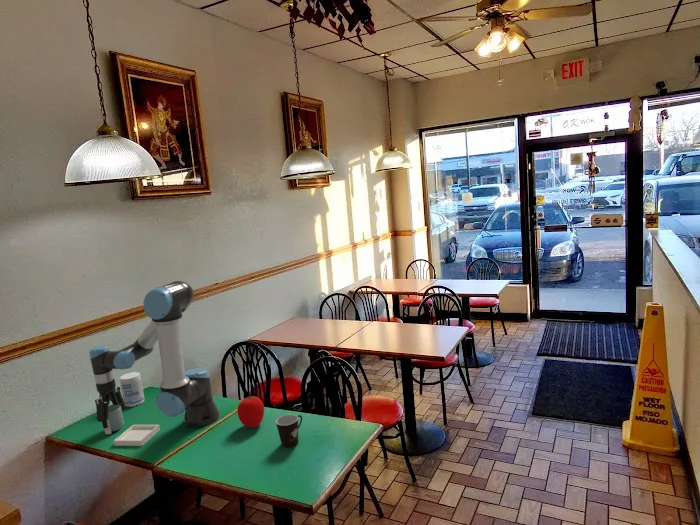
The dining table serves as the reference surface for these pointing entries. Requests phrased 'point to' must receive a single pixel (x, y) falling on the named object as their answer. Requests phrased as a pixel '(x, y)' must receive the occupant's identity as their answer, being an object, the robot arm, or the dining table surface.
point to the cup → (115, 417)
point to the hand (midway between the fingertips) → (114, 428)
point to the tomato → (251, 411)
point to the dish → (136, 435)
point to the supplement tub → (132, 389)
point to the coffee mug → (288, 430)
